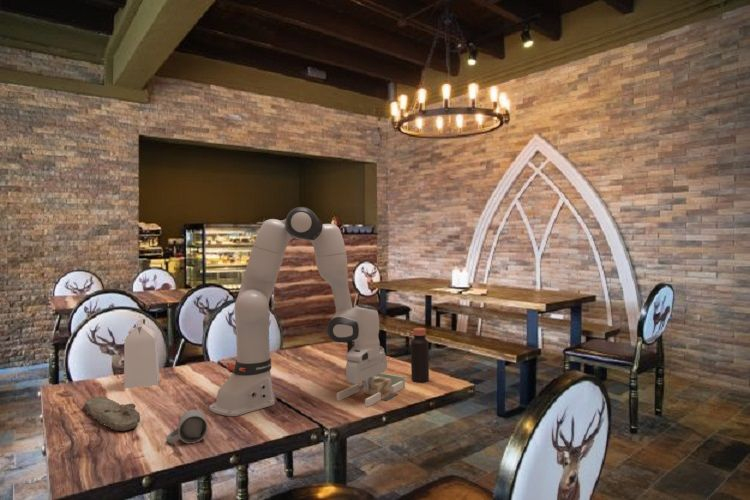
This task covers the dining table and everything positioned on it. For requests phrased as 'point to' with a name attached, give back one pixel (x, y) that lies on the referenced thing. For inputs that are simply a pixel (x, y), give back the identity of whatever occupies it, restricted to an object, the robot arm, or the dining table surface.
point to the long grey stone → (113, 413)
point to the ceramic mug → (189, 428)
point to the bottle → (419, 356)
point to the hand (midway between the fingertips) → (367, 389)
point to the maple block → (379, 386)
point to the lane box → (396, 385)
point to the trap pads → (384, 397)
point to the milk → (140, 357)
